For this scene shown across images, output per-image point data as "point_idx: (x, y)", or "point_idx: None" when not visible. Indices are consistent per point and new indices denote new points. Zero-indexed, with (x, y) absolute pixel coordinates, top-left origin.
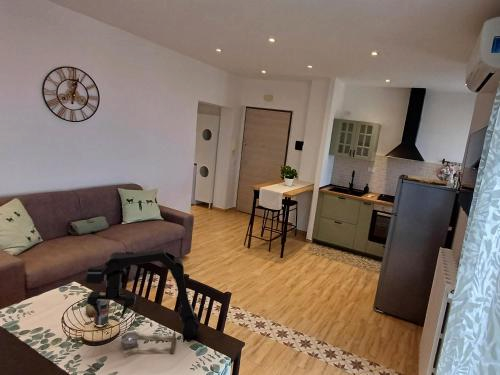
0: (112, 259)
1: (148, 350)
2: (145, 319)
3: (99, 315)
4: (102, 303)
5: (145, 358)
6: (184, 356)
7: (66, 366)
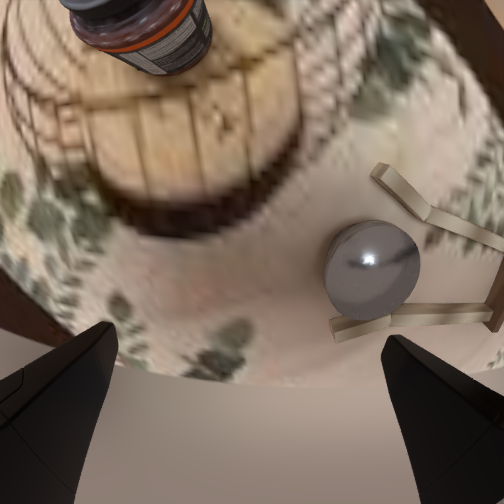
0: None
1: (429, 322)
2: (434, 44)
3: (111, 363)
4: None
5: None
6: None
7: None
